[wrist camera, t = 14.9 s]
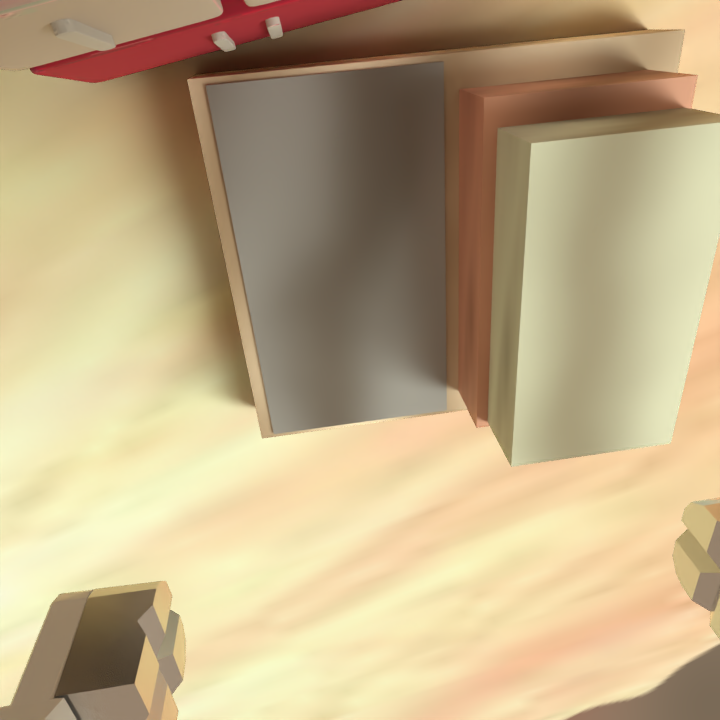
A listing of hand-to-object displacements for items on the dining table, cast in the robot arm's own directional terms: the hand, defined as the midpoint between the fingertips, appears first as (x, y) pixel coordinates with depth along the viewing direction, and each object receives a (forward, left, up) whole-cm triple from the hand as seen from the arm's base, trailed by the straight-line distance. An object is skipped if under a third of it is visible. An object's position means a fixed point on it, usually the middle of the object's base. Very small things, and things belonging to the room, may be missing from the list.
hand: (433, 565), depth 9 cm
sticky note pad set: (-3, 0, -15) cm, 15 cm away
